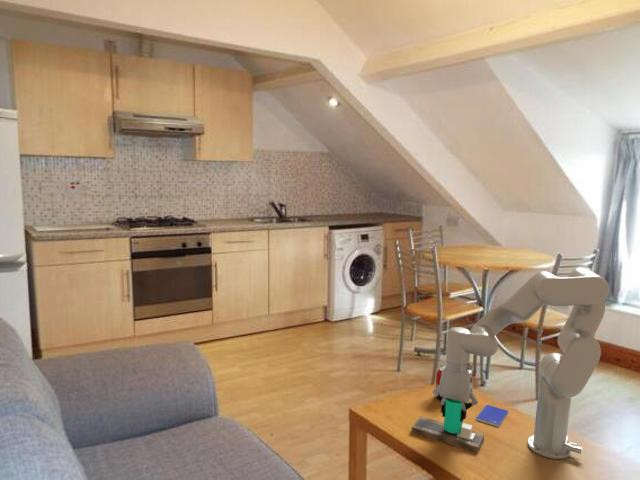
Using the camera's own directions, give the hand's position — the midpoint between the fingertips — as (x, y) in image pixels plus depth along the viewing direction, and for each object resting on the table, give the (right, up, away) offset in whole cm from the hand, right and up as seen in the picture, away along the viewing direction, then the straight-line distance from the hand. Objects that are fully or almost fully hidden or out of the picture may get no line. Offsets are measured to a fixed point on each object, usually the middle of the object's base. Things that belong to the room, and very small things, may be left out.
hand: (453, 417), depth 168 cm
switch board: (-2, -7, +2) cm, 7 cm away
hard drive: (+18, -6, +16) cm, 25 cm away
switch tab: (+4, -6, -2) cm, 7 cm away
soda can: (+4, -3, +29) cm, 30 cm away
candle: (0, -4, +1) cm, 4 cm away
